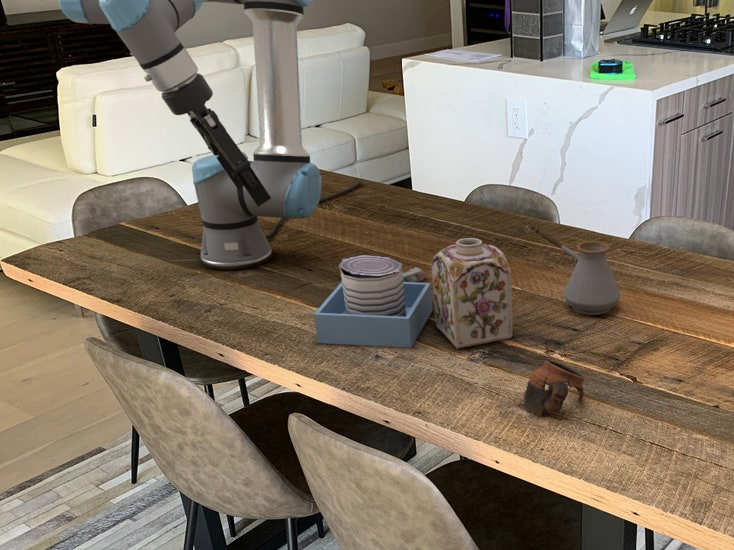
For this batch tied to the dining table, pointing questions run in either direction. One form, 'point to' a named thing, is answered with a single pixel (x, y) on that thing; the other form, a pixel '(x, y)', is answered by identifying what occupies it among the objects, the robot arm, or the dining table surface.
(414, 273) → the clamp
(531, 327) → the dining table surface
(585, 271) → the coffee pot
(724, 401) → the dining table surface
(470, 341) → the decorative jar
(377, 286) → the can
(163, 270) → the dining table surface
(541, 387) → the pottery mug
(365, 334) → the tote
